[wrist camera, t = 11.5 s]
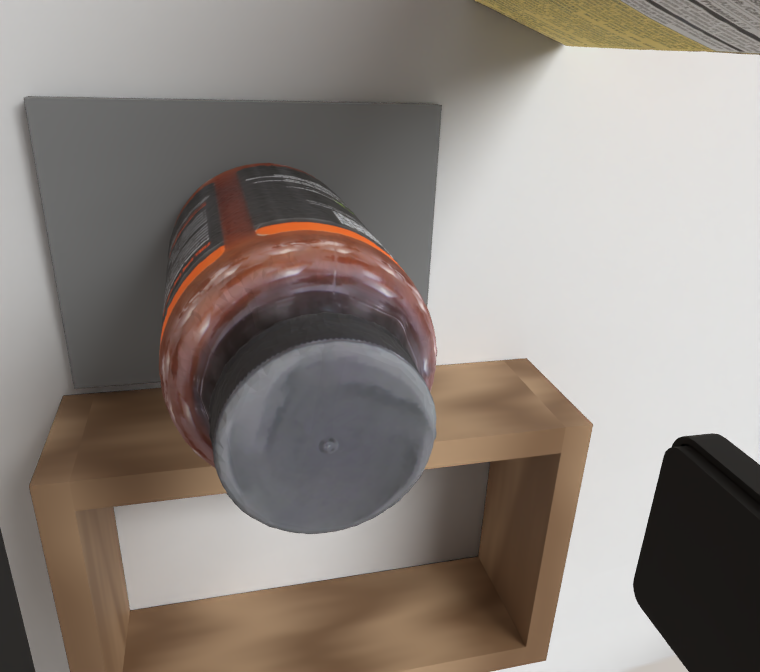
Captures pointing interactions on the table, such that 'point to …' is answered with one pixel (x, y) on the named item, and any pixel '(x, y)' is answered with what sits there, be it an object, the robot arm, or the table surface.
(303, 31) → the table surface
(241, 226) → the supplement bottle
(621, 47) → the candy box
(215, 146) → the mat
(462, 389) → the crate
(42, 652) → the table surface
